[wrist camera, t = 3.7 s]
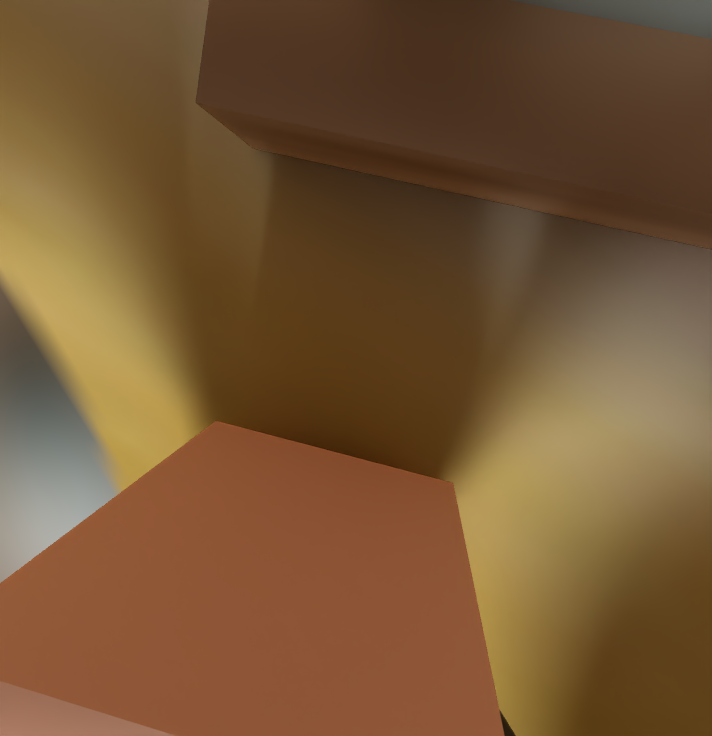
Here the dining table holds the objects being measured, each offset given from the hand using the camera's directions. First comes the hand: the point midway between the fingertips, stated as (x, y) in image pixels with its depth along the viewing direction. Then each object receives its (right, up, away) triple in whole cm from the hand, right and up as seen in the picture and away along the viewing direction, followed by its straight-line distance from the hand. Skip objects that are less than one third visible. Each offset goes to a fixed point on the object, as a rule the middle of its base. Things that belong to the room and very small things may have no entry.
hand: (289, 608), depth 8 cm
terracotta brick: (0, 0, +2) cm, 2 cm away
